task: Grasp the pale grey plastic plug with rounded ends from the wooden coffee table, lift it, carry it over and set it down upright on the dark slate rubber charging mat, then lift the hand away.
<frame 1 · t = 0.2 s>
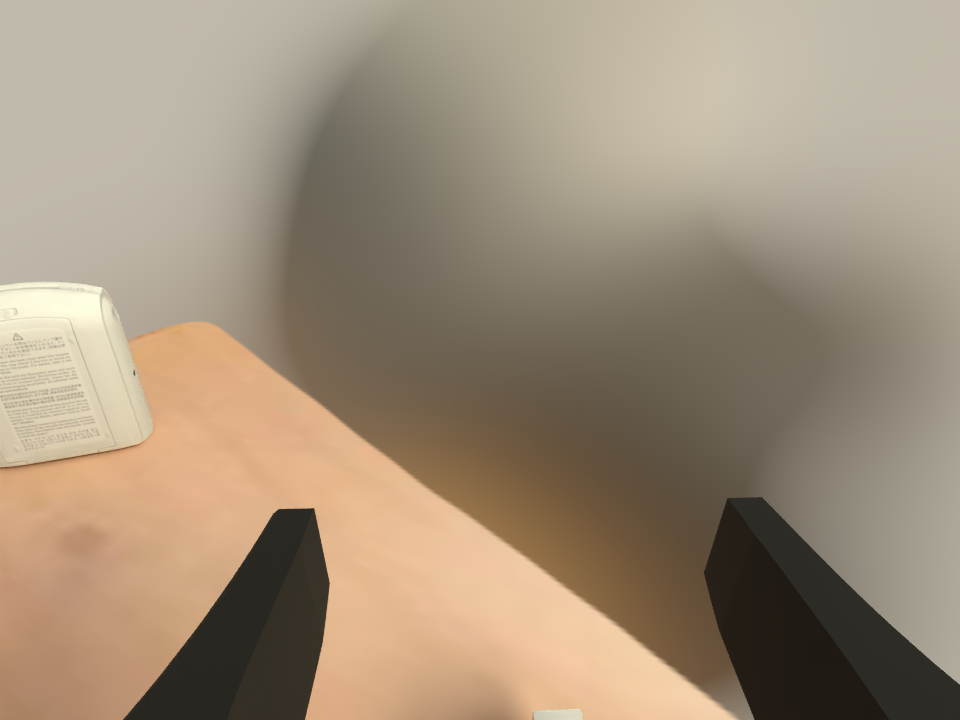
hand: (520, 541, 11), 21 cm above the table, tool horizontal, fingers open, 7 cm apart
photo printer: (79, 445, 46), on the table
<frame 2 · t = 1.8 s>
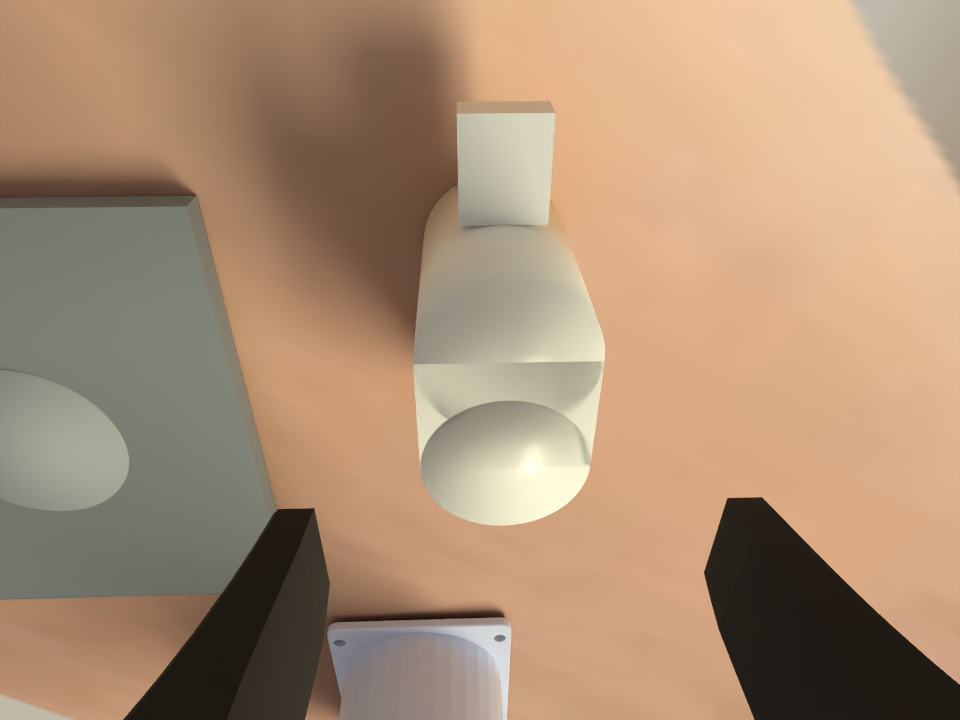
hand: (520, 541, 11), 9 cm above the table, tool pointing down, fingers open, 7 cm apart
charging mat: (44, 428, 22), on the table
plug: (493, 289, 19), on the table
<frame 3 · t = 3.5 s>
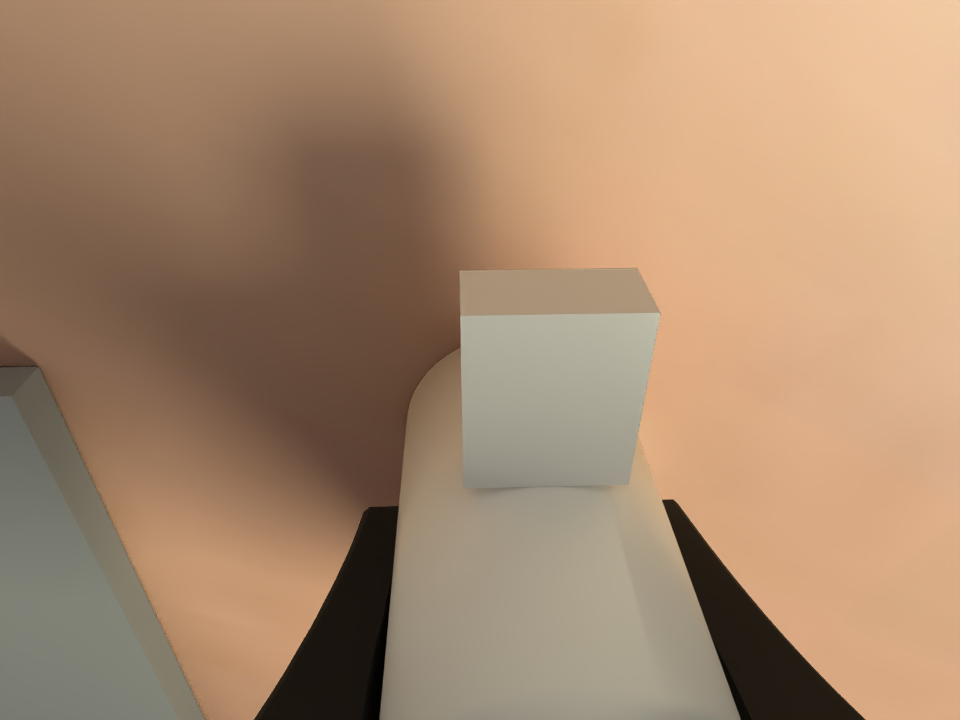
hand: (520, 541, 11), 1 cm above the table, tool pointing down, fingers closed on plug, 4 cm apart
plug: (513, 483, 13), on the table, touching gripper
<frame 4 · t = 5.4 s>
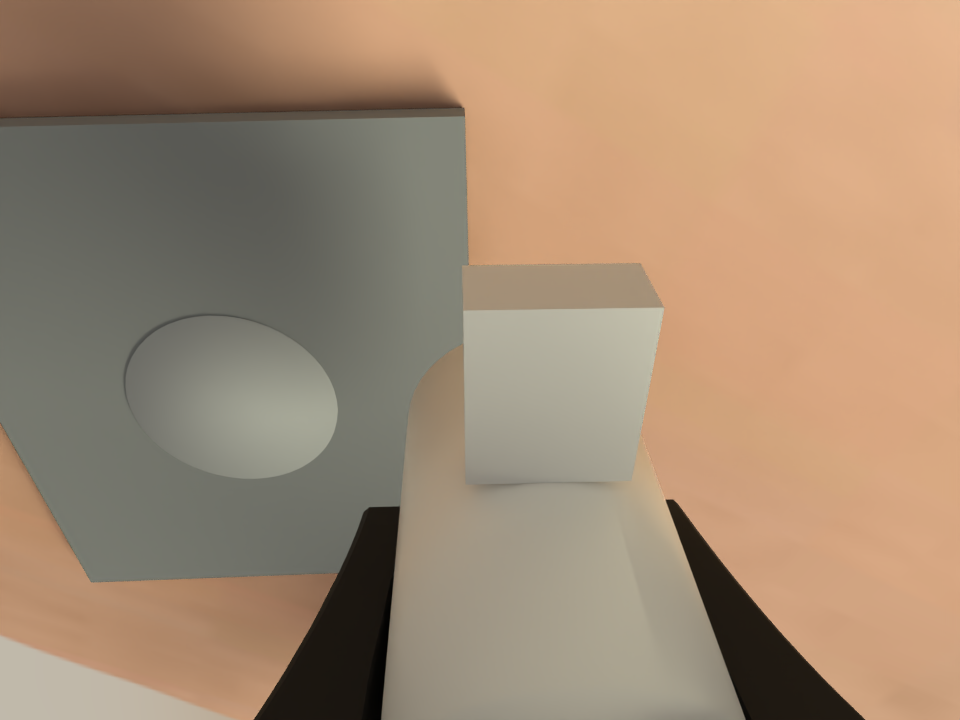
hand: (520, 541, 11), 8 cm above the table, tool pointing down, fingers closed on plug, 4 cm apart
charging mat: (242, 386, 20), on the table
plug: (515, 481, 13), point 7 cm above the table, touching gripper
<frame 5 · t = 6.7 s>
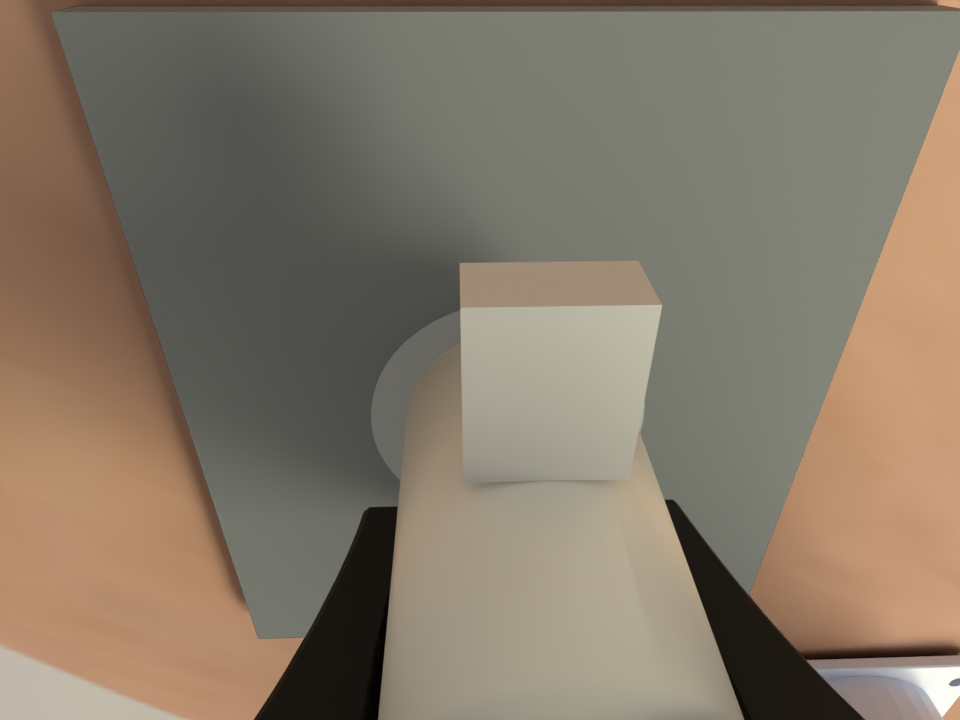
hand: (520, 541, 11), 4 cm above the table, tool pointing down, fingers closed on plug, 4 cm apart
charging mat: (505, 398, 15), on the table
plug: (513, 480, 13), point 3 cm above the table, touching gripper
when the fingers open (4 cm above the table, at t = 7.6 s): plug drops 2 cm, resting on charging mat.
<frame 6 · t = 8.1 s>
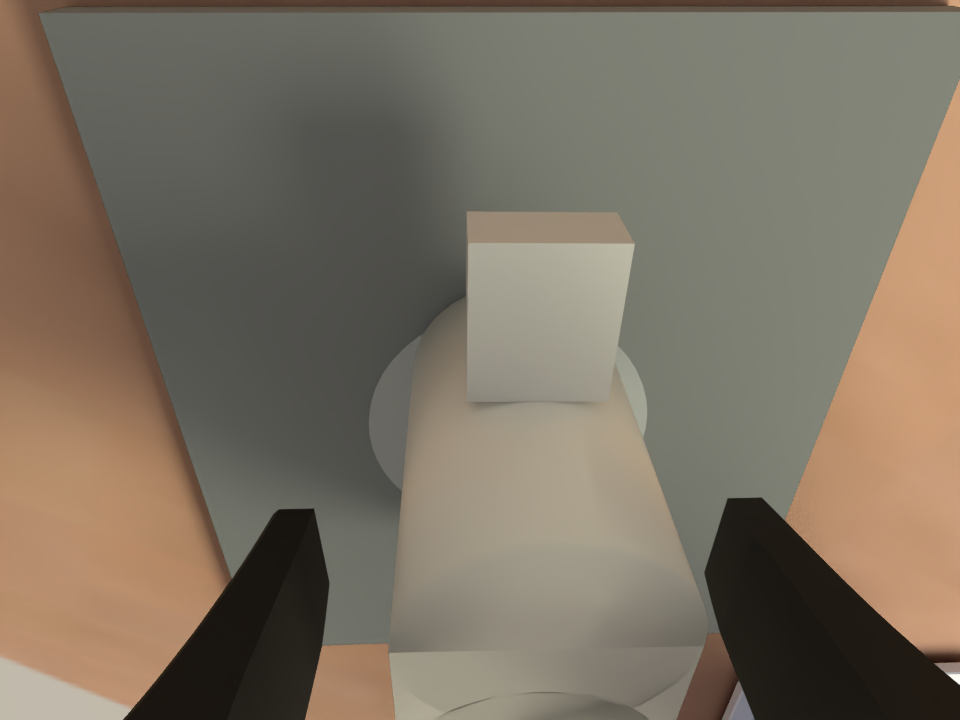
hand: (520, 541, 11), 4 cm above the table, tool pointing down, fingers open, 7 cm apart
charging mat: (505, 404, 15), on the table
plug: (508, 428, 14), point 1 cm above the table, touching charging mat
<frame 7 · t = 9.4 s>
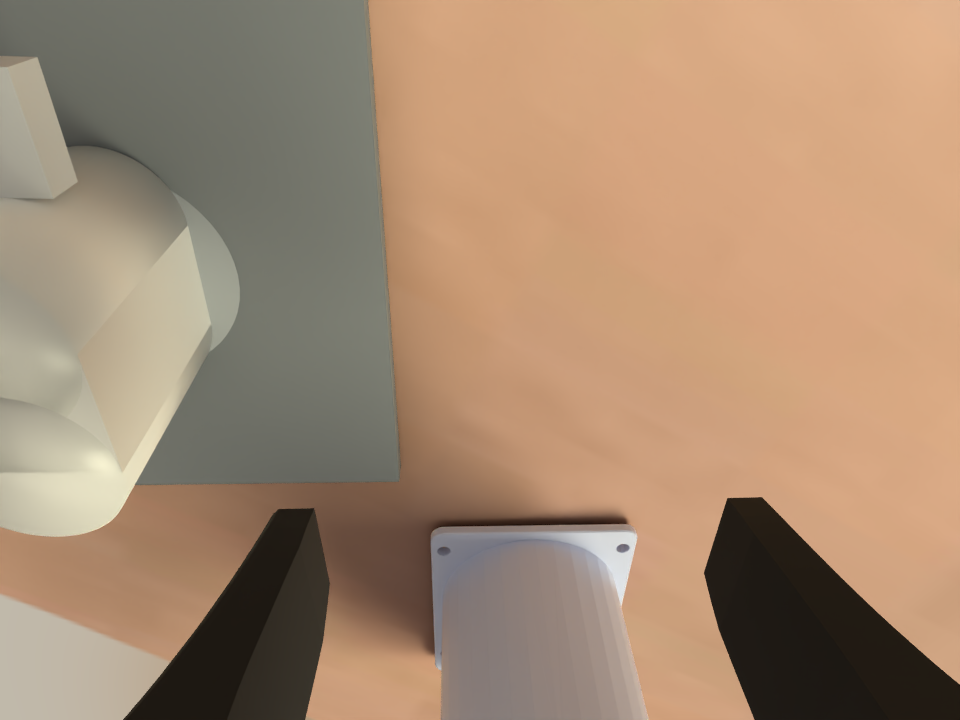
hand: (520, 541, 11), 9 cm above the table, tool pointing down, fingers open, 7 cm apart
charging mat: (138, 262, 18), on the table
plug: (125, 275, 17), point 1 cm above the table, touching charging mat
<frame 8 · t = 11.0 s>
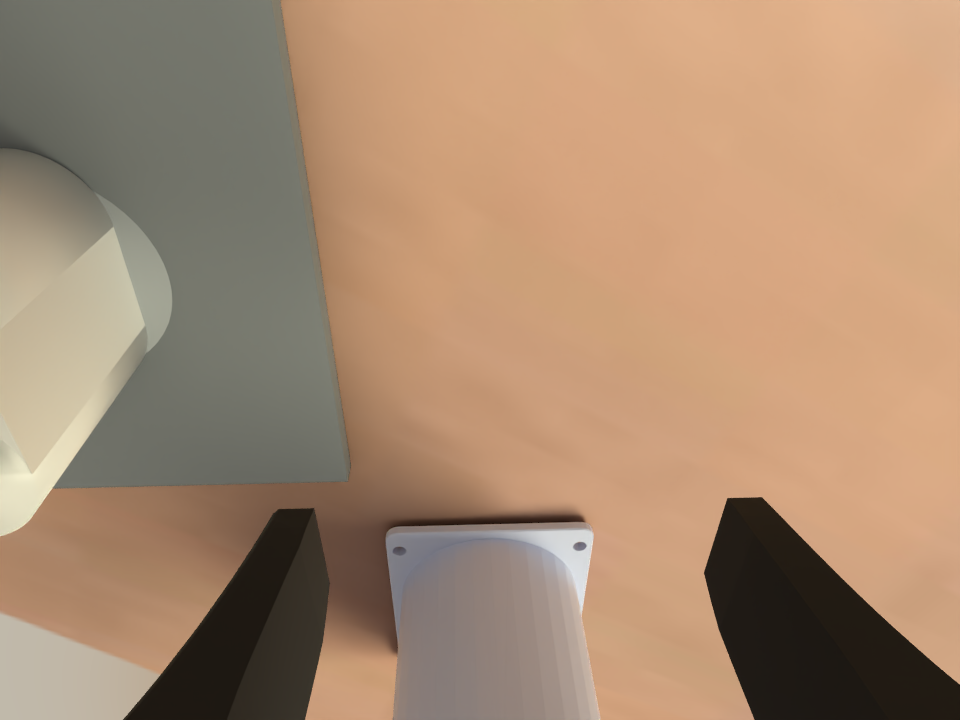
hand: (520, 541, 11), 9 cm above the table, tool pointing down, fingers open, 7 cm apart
charging mat: (71, 265, 18), on the table
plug: (55, 278, 17), point 1 cm above the table, touching charging mat
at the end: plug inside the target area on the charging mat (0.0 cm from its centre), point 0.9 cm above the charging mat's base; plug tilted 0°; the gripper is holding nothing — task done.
